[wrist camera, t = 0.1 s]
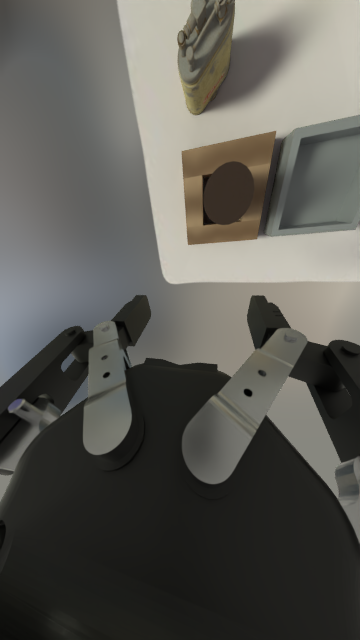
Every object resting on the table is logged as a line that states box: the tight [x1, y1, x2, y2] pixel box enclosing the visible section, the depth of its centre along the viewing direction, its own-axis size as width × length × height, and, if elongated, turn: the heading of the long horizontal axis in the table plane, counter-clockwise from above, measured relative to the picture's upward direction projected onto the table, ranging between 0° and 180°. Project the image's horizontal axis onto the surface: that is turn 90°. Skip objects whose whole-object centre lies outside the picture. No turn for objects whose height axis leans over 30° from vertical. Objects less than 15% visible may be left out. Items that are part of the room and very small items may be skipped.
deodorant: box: [203, 161, 254, 225], centre depth 24 cm, size 6×6×15 cm
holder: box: [182, 131, 276, 245], centre depth 28 cm, size 14×14×4 cm
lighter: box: [177, 0, 235, 115], centre depth 18 cm, size 7×4×10 cm, turn 132°
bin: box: [264, 115, 360, 237], centre depth 25 cm, size 13×13×5 cm
